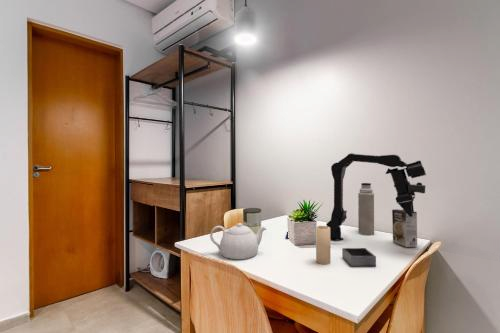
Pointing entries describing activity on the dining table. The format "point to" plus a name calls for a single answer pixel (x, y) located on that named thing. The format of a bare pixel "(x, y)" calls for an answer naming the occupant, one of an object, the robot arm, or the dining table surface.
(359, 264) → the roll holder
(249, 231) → the teapot
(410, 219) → the coffee box
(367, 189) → the thermos bottle
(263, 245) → the dining table surface
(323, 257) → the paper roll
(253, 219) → the coffee can
